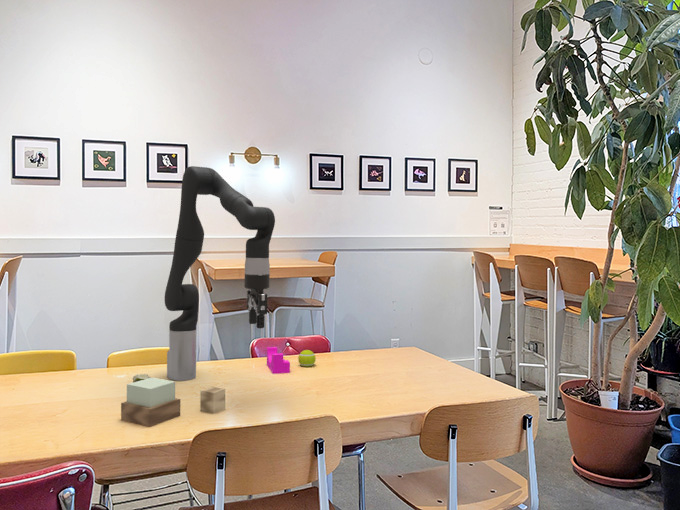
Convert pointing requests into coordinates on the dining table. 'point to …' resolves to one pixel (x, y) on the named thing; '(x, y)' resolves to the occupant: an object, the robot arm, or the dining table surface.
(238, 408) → the dining table surface
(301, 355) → the tennis ball
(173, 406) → the tower base
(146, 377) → the fruit
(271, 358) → the toy block
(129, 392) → the pale green square block
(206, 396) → the oak block
